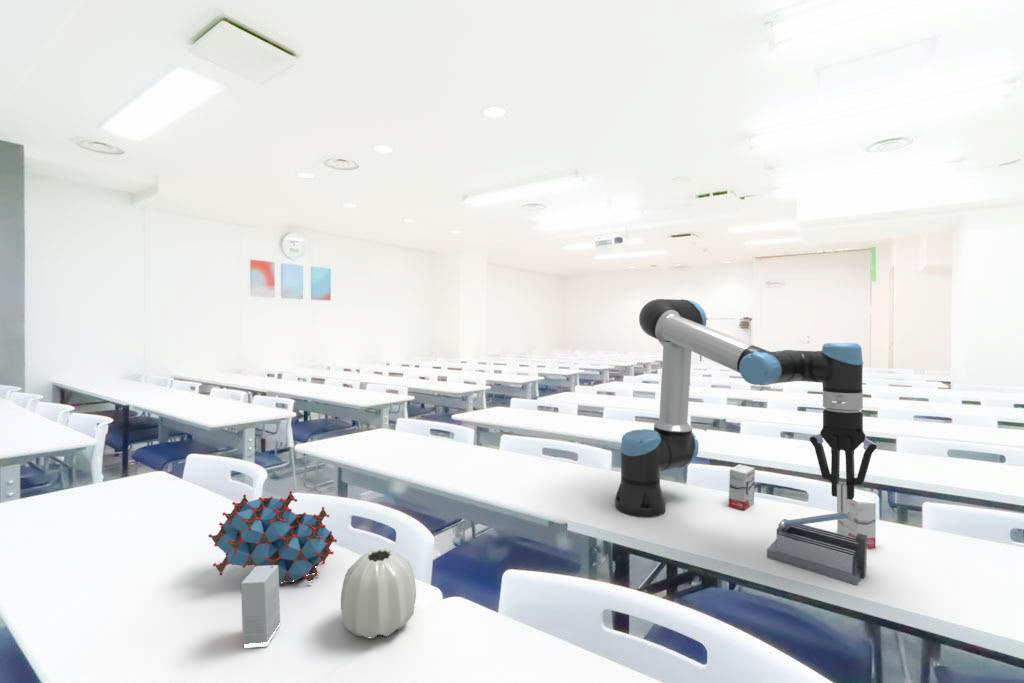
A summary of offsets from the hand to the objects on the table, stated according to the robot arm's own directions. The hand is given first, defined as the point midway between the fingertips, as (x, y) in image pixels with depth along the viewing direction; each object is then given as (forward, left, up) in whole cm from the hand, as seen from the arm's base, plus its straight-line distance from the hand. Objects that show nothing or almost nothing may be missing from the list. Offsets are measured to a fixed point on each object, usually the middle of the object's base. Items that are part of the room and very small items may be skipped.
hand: (842, 511), depth 109 cm
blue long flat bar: (-6, 0, -4) cm, 7 cm away
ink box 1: (-30, +25, -14) cm, 42 cm away
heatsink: (-5, 0, -14) cm, 14 cm away
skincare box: (-71, -102, -14) cm, 125 cm away
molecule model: (-92, -92, -14) cm, 131 cm away
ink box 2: (0, +20, -14) cm, 24 cm away
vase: (-59, -85, -14) cm, 104 cm away
